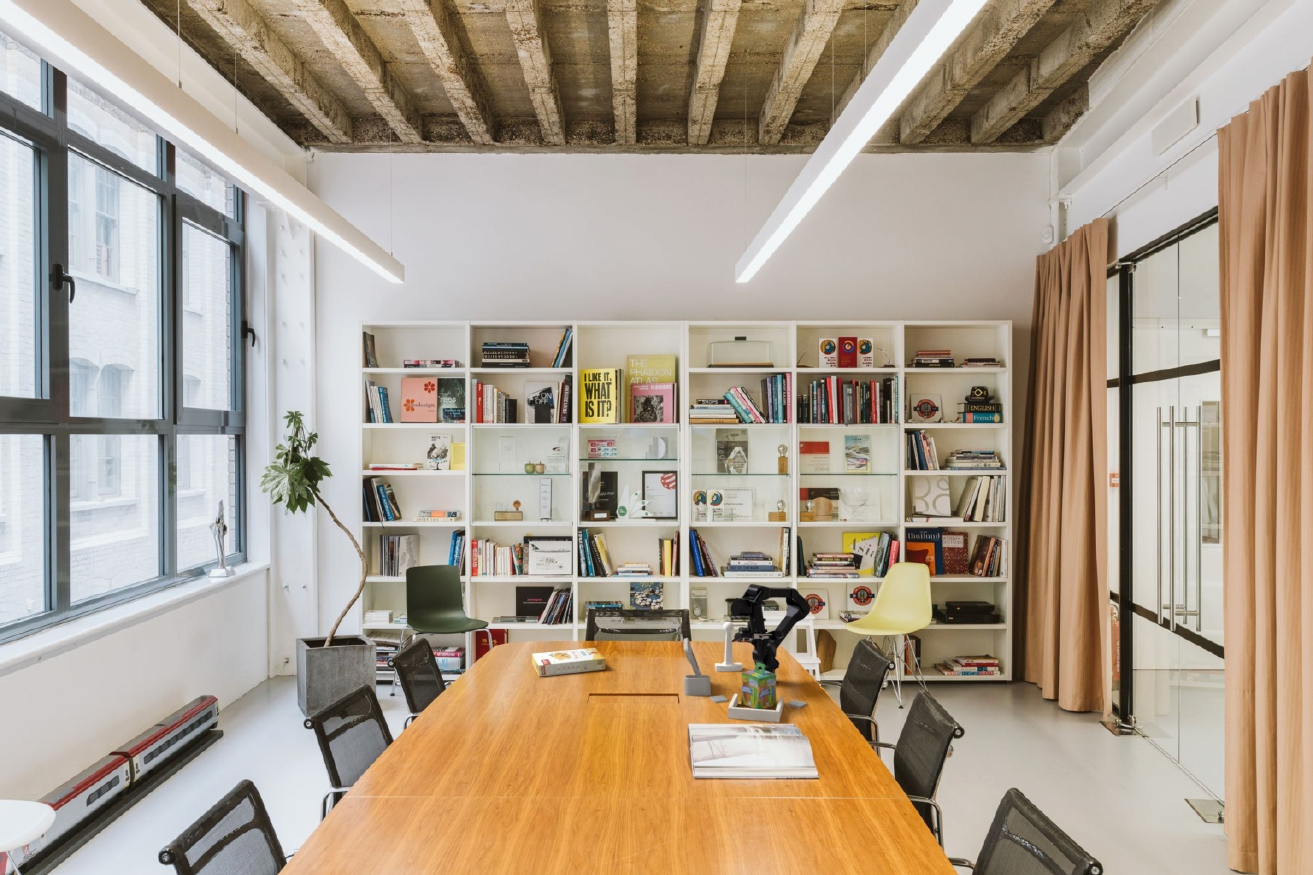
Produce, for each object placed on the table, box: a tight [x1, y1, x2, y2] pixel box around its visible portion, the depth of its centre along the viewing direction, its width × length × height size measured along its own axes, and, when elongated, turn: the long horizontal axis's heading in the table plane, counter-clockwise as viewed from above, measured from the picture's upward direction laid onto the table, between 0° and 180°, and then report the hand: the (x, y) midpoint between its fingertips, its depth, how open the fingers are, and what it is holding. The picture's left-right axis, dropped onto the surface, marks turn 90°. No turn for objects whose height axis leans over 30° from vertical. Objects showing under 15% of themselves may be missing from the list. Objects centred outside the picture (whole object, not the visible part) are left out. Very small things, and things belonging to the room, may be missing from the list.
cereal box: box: [531, 647, 607, 677], centre depth 325 cm, size 20×6×28 cm
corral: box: [727, 693, 784, 723], centre depth 269 cm, size 15×17×4 cm
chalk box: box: [740, 663, 777, 710], centre depth 276 cm, size 9×9×15 cm
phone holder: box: [683, 637, 712, 697], centre depth 296 cm, size 17×10×18 cm, turn 178°
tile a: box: [787, 699, 808, 709], centre depth 276 cm, size 5×5×1 cm
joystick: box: [714, 621, 743, 673], centre depth 320 cm, size 11×8×20 cm
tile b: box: [709, 694, 729, 704], centre depth 282 cm, size 5×5×1 cm
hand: (762, 658), depth 291 cm, fingers closed
